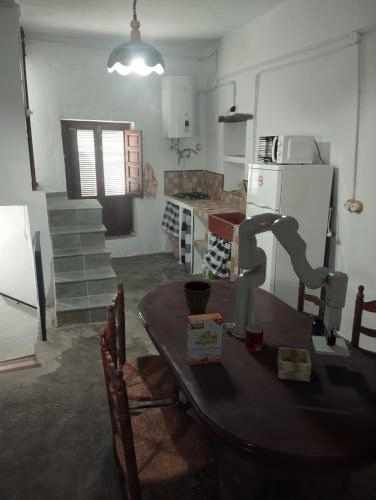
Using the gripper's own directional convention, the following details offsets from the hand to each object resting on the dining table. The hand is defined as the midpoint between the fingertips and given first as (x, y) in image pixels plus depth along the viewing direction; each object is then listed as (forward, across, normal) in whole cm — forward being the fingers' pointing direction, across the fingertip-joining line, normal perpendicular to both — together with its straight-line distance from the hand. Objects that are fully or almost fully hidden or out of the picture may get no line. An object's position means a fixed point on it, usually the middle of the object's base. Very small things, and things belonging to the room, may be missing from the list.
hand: (330, 342), depth 161 cm
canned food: (+11, -7, -31) cm, 34 cm away
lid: (+2, 0, 0) cm, 2 cm away
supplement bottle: (+11, -22, -1) cm, 25 cm away
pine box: (+11, +9, -15) cm, 21 cm away
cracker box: (+11, +7, -52) cm, 54 cm away
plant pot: (+11, -40, -62) cm, 75 cm away
